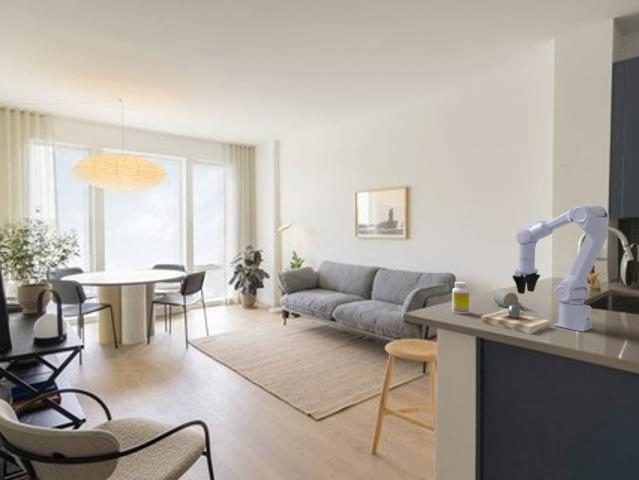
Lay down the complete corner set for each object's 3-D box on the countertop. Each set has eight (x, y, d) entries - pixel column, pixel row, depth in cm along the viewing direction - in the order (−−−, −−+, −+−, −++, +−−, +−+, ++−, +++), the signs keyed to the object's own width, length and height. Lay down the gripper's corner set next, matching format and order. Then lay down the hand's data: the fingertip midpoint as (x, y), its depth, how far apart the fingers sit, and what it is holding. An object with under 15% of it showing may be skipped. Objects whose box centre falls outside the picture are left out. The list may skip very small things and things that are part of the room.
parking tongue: (523, 316, 151) (523, 311, 151) (514, 318, 147) (514, 313, 147) (506, 312, 156) (506, 308, 156) (497, 315, 152) (497, 310, 152)
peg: (521, 325, 138) (521, 306, 137) (515, 326, 136) (516, 307, 136) (512, 323, 141) (512, 304, 140) (506, 324, 139) (506, 305, 139)
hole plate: (549, 327, 135) (549, 320, 135) (530, 333, 127) (530, 326, 127) (501, 317, 150) (501, 310, 149) (481, 322, 142) (481, 315, 141)
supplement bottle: (471, 314, 154) (471, 283, 153) (454, 314, 154) (455, 283, 153) (465, 310, 160) (465, 281, 160) (449, 310, 160) (450, 281, 160)
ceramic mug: (504, 309, 164) (504, 291, 163) (492, 304, 172) (493, 288, 171) (526, 308, 165) (526, 291, 165) (513, 304, 173) (514, 288, 173)
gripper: (525, 257, 159) (525, 289, 159) (507, 259, 151) (506, 292, 151) (543, 258, 153) (542, 291, 154) (525, 260, 145) (524, 295, 145)
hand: (526, 292), depth 152 cm, fingers open, 7 cm apart
